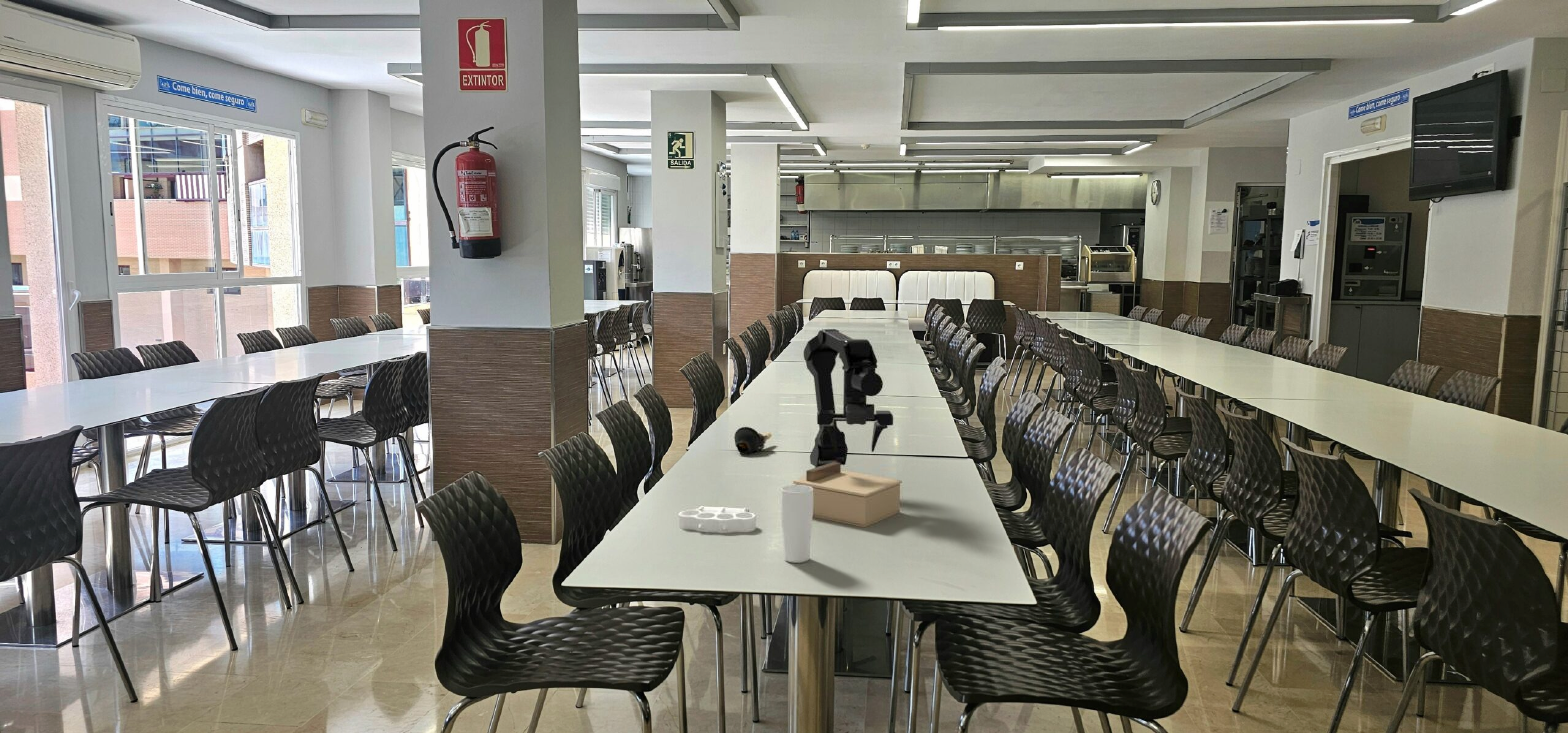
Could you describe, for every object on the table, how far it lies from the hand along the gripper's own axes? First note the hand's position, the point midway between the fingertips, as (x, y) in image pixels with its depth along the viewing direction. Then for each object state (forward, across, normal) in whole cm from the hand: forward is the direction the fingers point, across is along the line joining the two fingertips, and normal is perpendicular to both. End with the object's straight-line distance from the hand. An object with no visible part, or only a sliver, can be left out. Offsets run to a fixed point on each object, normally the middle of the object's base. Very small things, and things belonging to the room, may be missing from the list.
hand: (854, 451), depth 233 cm
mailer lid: (+6, -2, -8) cm, 10 cm away
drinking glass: (+13, -14, -44) cm, 48 cm away
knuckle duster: (+14, -32, -20) cm, 40 cm away
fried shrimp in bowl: (+15, -28, +64) cm, 71 cm away
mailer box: (+13, -2, -8) cm, 16 cm away
